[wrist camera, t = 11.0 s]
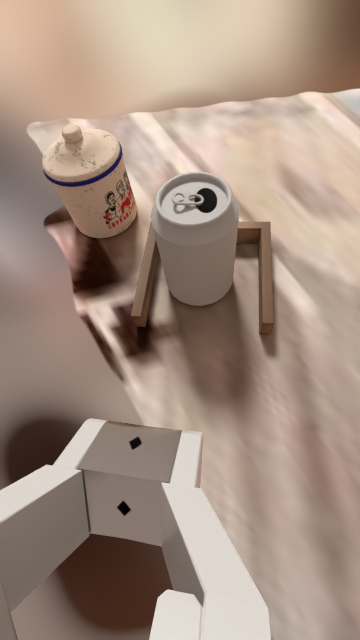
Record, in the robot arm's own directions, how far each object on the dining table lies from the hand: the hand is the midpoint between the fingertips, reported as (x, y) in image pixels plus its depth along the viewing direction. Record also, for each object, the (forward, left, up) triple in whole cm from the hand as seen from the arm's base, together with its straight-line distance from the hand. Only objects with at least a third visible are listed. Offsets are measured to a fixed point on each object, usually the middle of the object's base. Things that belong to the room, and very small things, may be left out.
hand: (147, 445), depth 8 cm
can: (-1, +19, -20) cm, 27 cm away
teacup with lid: (-14, +31, -20) cm, 39 cm away
